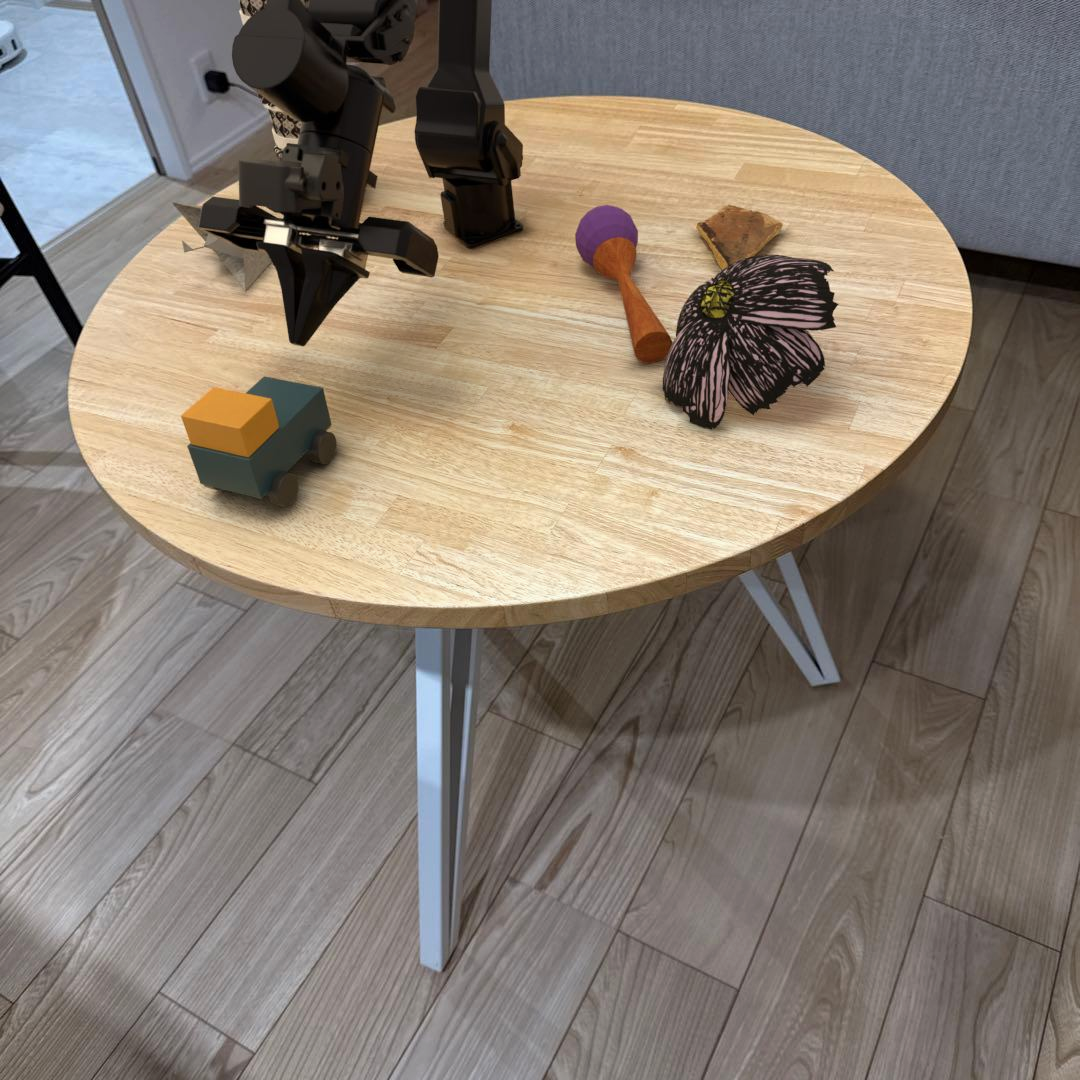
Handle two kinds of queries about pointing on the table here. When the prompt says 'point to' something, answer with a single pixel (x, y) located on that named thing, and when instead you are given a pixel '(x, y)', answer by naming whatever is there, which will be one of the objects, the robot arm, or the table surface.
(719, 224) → the shard
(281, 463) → the toy truck
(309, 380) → the table surface
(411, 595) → the table surface
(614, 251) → the purple and orange maraca
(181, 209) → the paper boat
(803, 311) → the decorative flower
